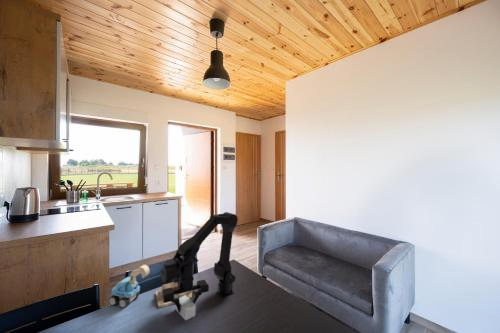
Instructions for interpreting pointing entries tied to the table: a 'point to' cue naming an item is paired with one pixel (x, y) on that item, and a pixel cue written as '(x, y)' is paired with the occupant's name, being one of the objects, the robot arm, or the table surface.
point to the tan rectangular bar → (173, 285)
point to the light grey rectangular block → (186, 308)
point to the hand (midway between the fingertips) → (185, 309)
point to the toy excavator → (128, 288)
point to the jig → (162, 304)
